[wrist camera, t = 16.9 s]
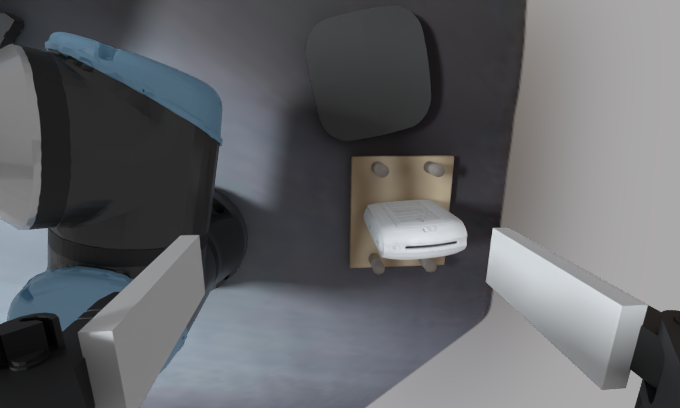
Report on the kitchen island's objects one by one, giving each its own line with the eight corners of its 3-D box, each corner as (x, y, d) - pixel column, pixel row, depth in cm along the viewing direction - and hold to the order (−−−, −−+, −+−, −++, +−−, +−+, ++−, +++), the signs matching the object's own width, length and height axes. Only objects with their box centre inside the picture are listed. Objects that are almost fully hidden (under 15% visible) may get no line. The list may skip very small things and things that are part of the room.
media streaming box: (298, 28, 42) (298, 22, 39) (413, 4, 42) (421, -4, 39) (324, 145, 45) (325, 147, 42) (428, 122, 46) (437, 123, 43)
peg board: (349, 264, 50) (353, 279, 45) (351, 155, 46) (355, 160, 41) (441, 261, 51) (454, 275, 46) (450, 155, 47) (465, 159, 42)
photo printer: (363, 231, 47) (381, 270, 35) (361, 202, 46) (380, 232, 34) (434, 225, 48) (476, 261, 36) (434, 196, 47) (478, 223, 35)
